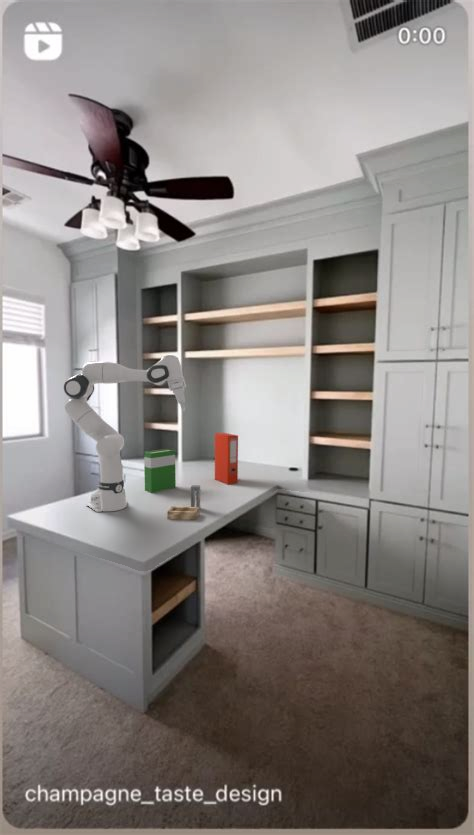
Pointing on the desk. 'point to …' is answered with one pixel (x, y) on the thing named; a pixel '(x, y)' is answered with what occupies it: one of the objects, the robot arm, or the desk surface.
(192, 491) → the clip
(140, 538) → the desk surface
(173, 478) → the green box
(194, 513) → the wooden tray
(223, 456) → the file binder
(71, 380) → the robot arm
